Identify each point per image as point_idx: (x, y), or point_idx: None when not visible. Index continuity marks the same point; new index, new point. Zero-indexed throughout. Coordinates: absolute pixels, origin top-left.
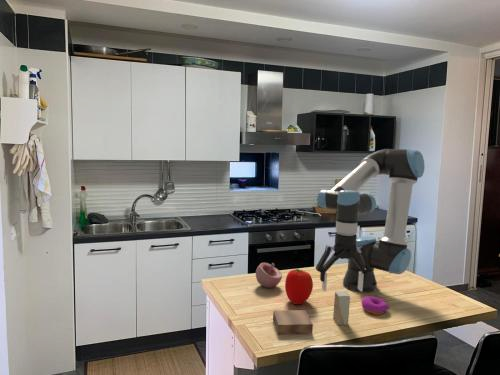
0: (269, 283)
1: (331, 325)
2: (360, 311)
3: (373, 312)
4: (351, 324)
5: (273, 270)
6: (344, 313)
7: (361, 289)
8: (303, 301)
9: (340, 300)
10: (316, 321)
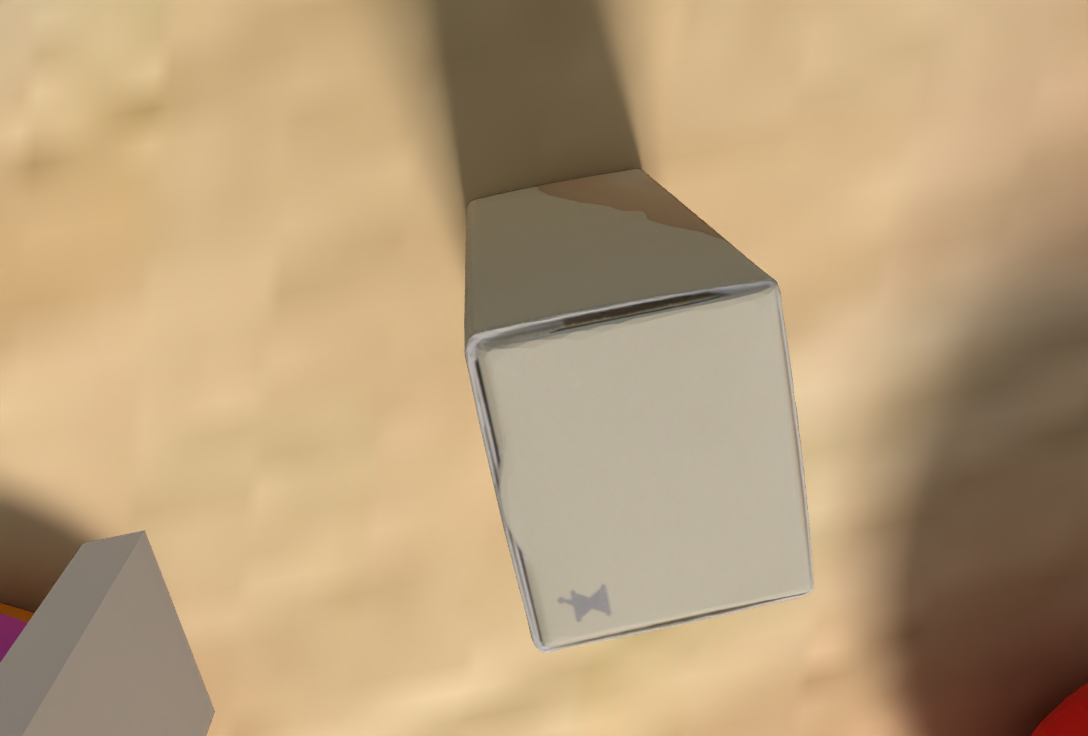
0: None
1: (732, 134)
2: (225, 668)
3: (21, 618)
4: (410, 225)
5: None
6: (552, 220)
7: (96, 569)
8: (1082, 695)
9: (705, 261)
10: (939, 229)
